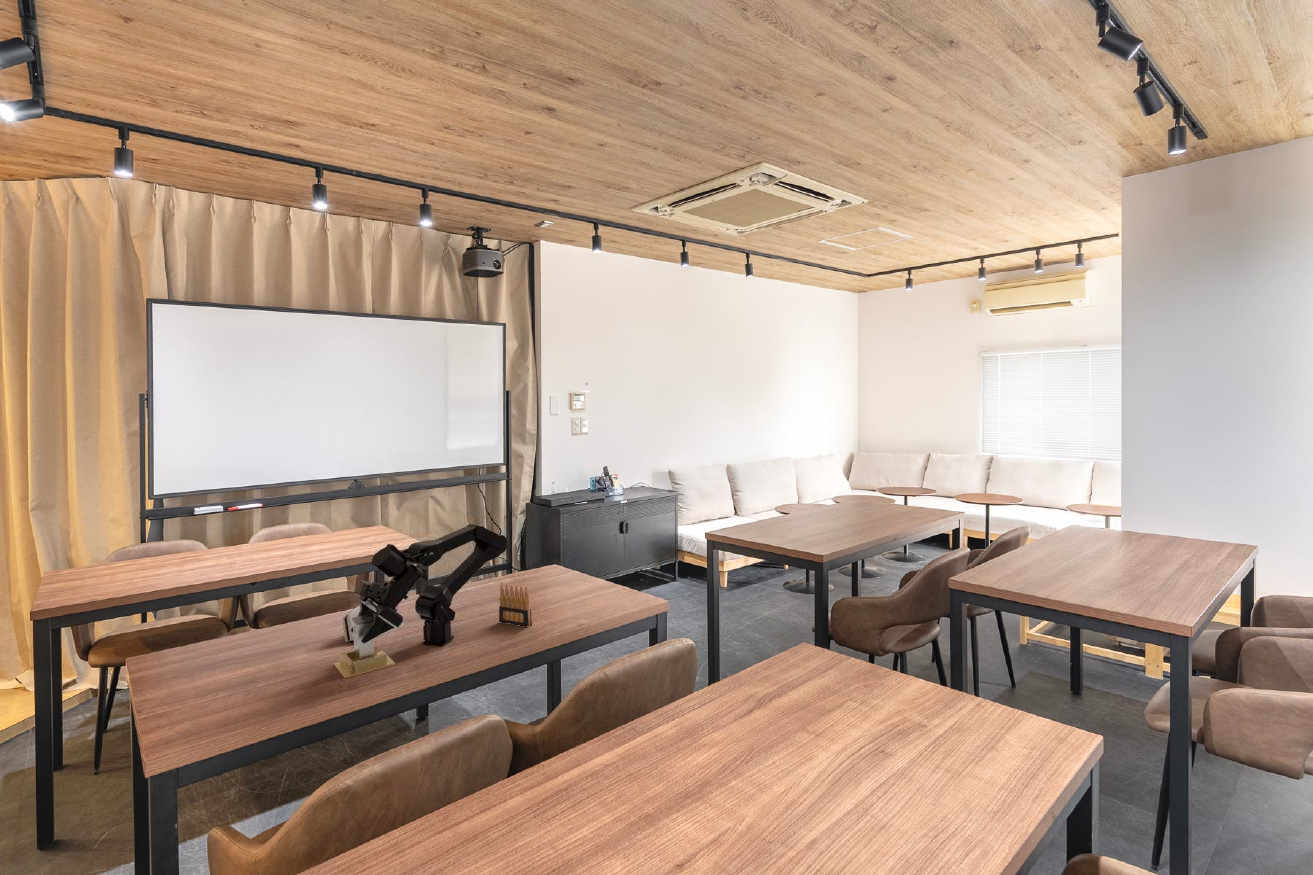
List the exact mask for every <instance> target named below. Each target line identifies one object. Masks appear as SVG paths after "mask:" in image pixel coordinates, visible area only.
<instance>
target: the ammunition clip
mask: <svg viewBox="0 0 1313 875" xmlns="http://www.w3.org/2000/svg"><path fill="white" fill-rule="evenodd" d="M529 594H530V593H529V589H528V586H526V585H525V588H524V587H523V585H520V588H519V587H518V584H517V585H516V584H515V587H514V586H513V584H511V585H510V588H509V584H508V583H506V584H505V586H504V583H501V584H500V590H499V605H498V623H499V622H501V623H500V624H503V623H511V624H514V625H513V626H515V625H520V626H519V627H522V626H530V627H531V626H532V625H533V622H532V621H533V620H532V609H531V602H530V595H529Z"/></svg>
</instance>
